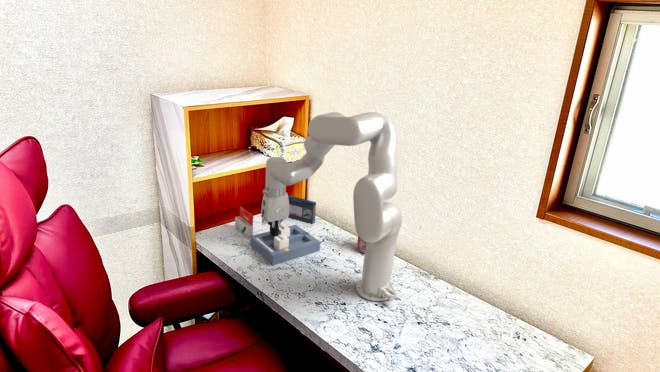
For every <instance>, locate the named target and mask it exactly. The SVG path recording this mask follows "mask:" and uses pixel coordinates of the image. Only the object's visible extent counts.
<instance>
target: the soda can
mask: <svg viewBox="0 0 660 372" xmlns="http://www.w3.org/2000/svg"><path fill="white" fill-rule="evenodd" d="M356 245H357V246H356V247H357V248H356V249H357V251H359V252H360V253H362V254H363V255H365V247H366V242H365V241H363V240H362V239H361V238H360V237H359V236H358V235H357V244H356Z"/></svg>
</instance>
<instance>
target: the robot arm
mask: <svg viewBox="0 0 660 372" xmlns="http://www.w3.org/2000/svg"><path fill="white" fill-rule="evenodd" d="M307 127H308V128H307V132H308V136H307V137H306V138H305V140H304V142H303V147H304V150H305V151H306V153H305V154H303V156H302V157H301V158H299V159H297V160H295V161H291V162H288V161H287V160H286V158H284V157H279V156H274V157H273V156H272V157H269V158H267V160H266V162H265V186H264V189H263V190H262V194H263V197H262V201H261V211H260V215H261V216H260V217H261V218H262V219H261V223H262V224H263V225H269V231H270V234H271V235H273V236H274V237H275V236H278V232H279V226H280V225H281V223H282V222H283V221H284V220H287V219H288V218H287V217H289V199H288V194H289V193H288V192H286V191H287V186H292V185H295V184H297V183H300V182H302V181H305V180H308V179H310V178H311V177H312V176H313V175H314V174H315V173H316V172H317V171H318V170H319V169H320V168H321V166H322V165H323V164H324V161H325V157H326V156H327V154H328V153H329V152H330V151H331V150H332V149H333V148H334V146H342V147H343V146H344V147H346V146H347V147H351V146H352V147H353V146H358V145H361V144H364V143H367V142H369V143H370V145H369V146H370V147H369V150H368V157H367V161H368V172H367V175H365V176H362V177H360V179H358V180H357V182H356V183H355V186H354V189H353V194H352V195H353V198H352V201H353V215H354V217H353V219H354V228H355V232H356V234H357V237H358V236H359V237H360V238H361V239H362V240H363V241H365V242H366V247H365V254H363V255H364V258H363V266H362V272H361V273H362V274H361V279H359V280H358V281H357V283H356V284H355V285H356V286H355V291H356V293H357V294H358V295H359V296H360V297H361V298H363V299H366V300H368V301H372V302H384V301H388V300H389V301H390V302H393V301H394V300H395V297H396V296H397V294H398V293H397V291H395V290H394V286H393V283H392V282H391V279H392V273H393V272H392V271H393V265H394V260H395V259H394V258H395V253H396V246H397V240H398V237H399V233H400V229H401V227H402V222H403V220H402V219H403V216H402V215H403V214H402V211H401V210H400V208H399V206H397V204H395V203H393V202H391V201H389V200H391V199H392V198H393V197H394V196H395V195H396V193H397V191H398V169H397V167H398V166H397V163H398V161H397V134H396V133H397V132H396V130H395V127H394V125H393V123H392V121H390V119H389V118H387V117H386V116H385V115H383V114H382V113H378V112H371V111H370V112H369V111H368V112H362V113H359V114H355V115H352V116H345V115H344V114H342V113H340V112H335V111H332V112H328V113H324V114H318V115H316V116H314V117H313V118H311V120H310V122H309V124H308V126H307Z"/></svg>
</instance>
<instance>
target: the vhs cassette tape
mask: <svg viewBox="0 0 660 372" xmlns="http://www.w3.org/2000/svg"><path fill="white" fill-rule="evenodd" d="M288 199H289V217H288V218H287V219H291V220H294V219H295V221H298V220H299V222H302V223H305V222H306V223H305V224H309V223H310V225H313V224H314V223H315V222H316V207H317V202H316V201H312V200H309V199H305V198H301V197H297V196H293V195H290V194H289V195H288Z"/></svg>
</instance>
